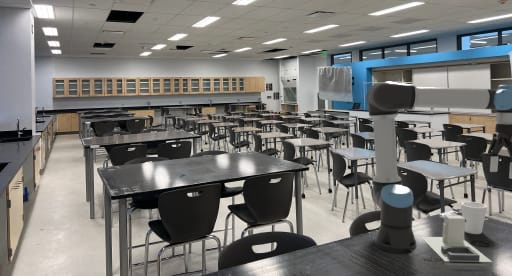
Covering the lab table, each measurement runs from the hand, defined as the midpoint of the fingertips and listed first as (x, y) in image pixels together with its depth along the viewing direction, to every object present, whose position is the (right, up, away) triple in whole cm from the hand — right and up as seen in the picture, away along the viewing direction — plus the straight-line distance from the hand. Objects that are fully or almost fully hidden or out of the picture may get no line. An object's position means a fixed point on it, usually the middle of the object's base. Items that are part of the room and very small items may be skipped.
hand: (502, 175), depth 155 cm
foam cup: (-10, -26, +5) cm, 28 cm away
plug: (-23, -26, -6) cm, 35 cm away
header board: (-27, -28, -12) cm, 41 cm away
